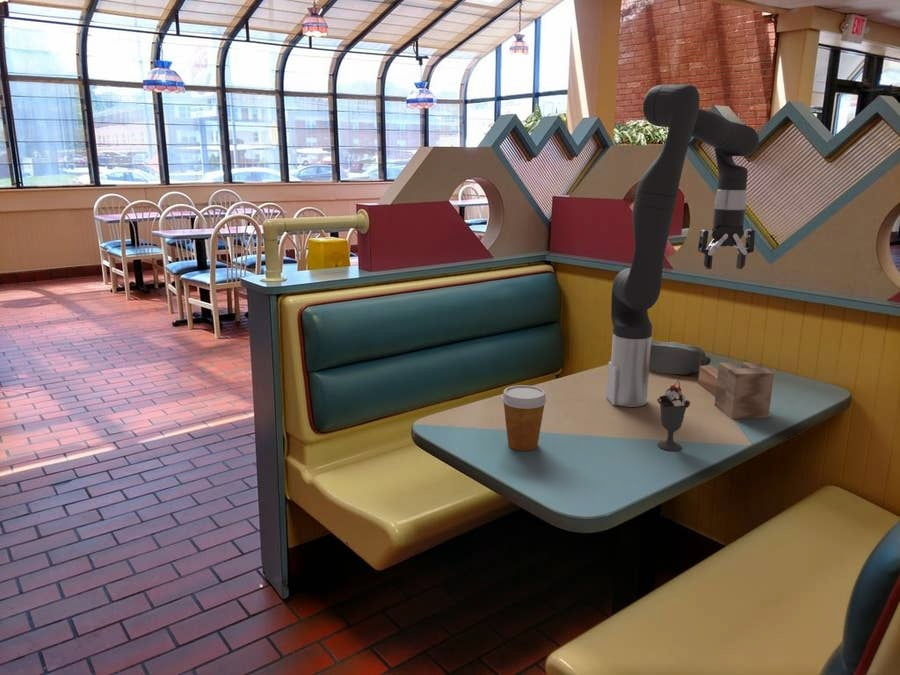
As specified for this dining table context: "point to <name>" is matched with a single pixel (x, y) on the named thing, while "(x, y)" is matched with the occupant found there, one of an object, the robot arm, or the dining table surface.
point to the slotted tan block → (744, 390)
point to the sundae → (672, 415)
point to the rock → (676, 358)
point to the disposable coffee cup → (523, 415)
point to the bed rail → (708, 378)
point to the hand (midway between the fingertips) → (723, 268)
